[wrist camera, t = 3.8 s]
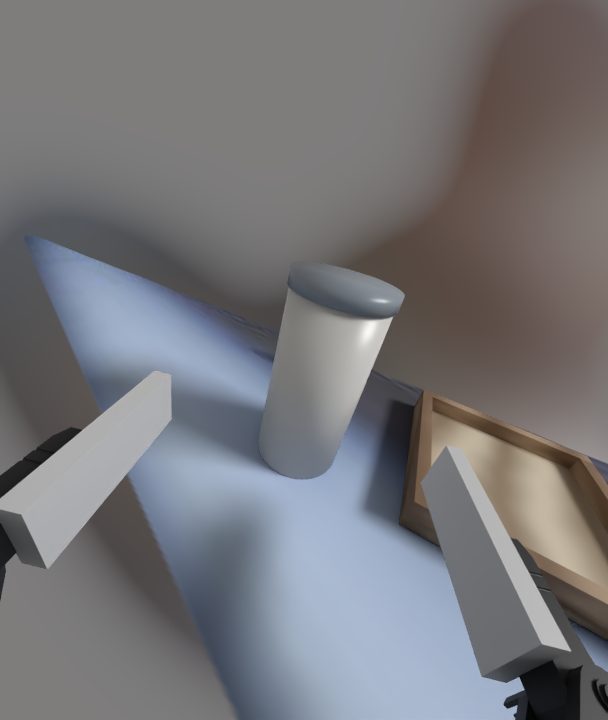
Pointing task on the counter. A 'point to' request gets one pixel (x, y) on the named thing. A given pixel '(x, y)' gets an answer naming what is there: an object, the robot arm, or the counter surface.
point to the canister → (322, 364)
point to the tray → (522, 499)
